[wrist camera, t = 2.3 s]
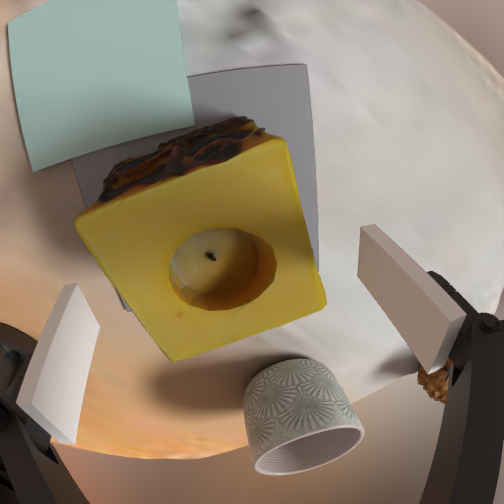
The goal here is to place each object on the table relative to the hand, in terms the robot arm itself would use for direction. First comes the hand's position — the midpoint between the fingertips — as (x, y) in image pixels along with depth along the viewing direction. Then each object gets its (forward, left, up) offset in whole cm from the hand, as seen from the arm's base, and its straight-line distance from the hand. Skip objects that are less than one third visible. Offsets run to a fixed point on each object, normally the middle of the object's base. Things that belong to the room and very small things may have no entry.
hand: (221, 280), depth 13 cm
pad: (-6, +12, -11) cm, 18 cm away
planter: (+5, -25, -12) cm, 28 cm away
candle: (0, 0, -11) cm, 11 cm away
